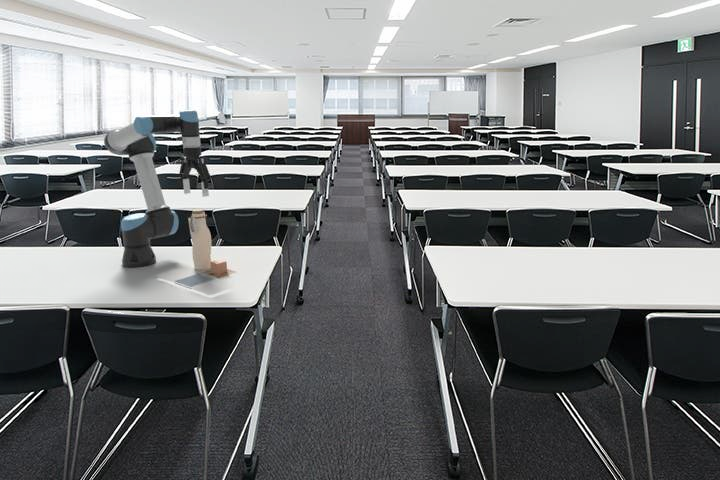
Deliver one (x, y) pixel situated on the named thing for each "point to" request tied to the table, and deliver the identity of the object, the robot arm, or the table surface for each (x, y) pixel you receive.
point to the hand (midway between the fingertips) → (196, 194)
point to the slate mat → (193, 280)
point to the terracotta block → (218, 266)
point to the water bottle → (200, 239)
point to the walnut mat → (219, 274)
